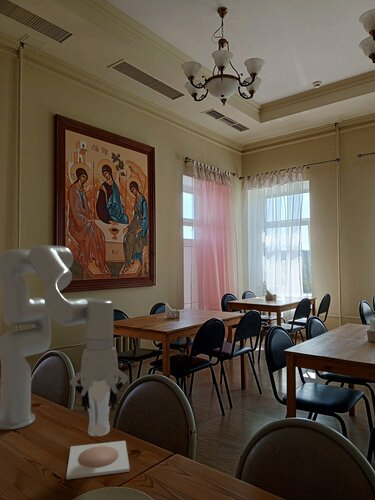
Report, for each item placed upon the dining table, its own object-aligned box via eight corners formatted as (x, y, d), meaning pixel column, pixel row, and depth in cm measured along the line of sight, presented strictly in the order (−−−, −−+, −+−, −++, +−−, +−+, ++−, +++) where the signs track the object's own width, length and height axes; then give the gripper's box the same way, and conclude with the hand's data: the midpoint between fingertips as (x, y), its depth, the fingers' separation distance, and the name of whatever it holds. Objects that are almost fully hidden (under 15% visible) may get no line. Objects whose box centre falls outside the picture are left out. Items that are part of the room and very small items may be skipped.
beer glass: (80, 433, 104) (81, 379, 105) (97, 424, 110) (98, 372, 111) (100, 439, 101) (100, 382, 101) (116, 429, 107) (116, 375, 107)
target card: (70, 449, 111) (70, 445, 111) (125, 443, 115) (125, 439, 115) (66, 479, 96) (66, 474, 96) (129, 471, 99) (129, 467, 99)
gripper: (66, 348, 101) (65, 415, 100) (131, 345, 105) (131, 409, 104) (68, 342, 108) (68, 405, 107) (129, 339, 112) (129, 400, 111)
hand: (99, 407), depth 106 cm, fingers closed on beer glass, 6 cm apart
